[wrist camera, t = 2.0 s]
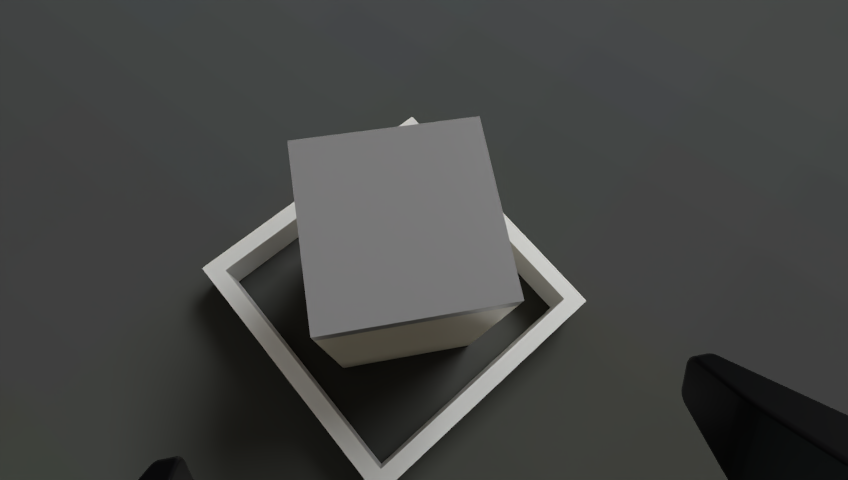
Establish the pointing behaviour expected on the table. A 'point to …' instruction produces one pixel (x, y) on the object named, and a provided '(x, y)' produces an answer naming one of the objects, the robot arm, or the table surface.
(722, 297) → the table surface
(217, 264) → the square frame
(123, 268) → the table surface
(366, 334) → the cream grey rectangular block
